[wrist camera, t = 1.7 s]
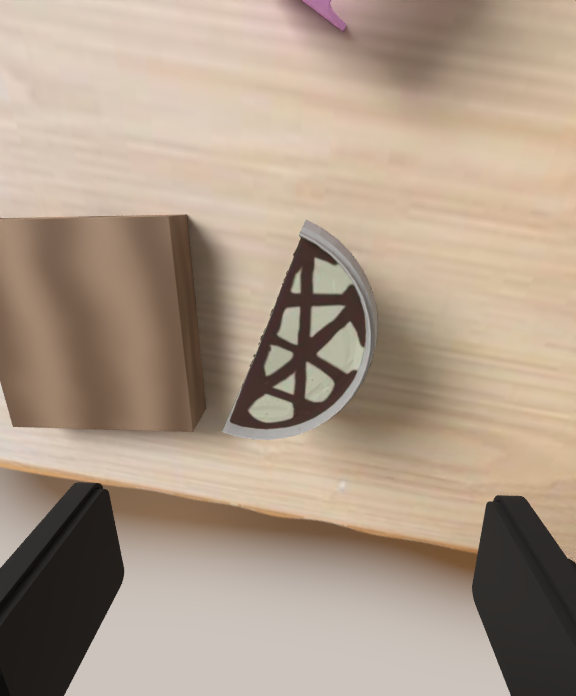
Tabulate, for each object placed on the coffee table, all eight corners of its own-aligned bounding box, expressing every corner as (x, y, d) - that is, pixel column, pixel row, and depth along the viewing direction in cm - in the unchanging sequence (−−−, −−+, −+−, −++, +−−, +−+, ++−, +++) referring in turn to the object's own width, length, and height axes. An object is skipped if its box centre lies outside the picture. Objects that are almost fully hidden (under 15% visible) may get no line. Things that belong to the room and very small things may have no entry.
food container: (322, 398, 32) (322, 479, 23) (249, 369, 32) (218, 440, 22) (394, 249, 28) (430, 274, 19) (310, 214, 28) (303, 221, 18)
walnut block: (188, 214, 29) (168, 216, 25) (207, 405, 34) (192, 431, 30) (1, 218, 30) (-45, 220, 26) (46, 402, 35) (13, 426, 31)
